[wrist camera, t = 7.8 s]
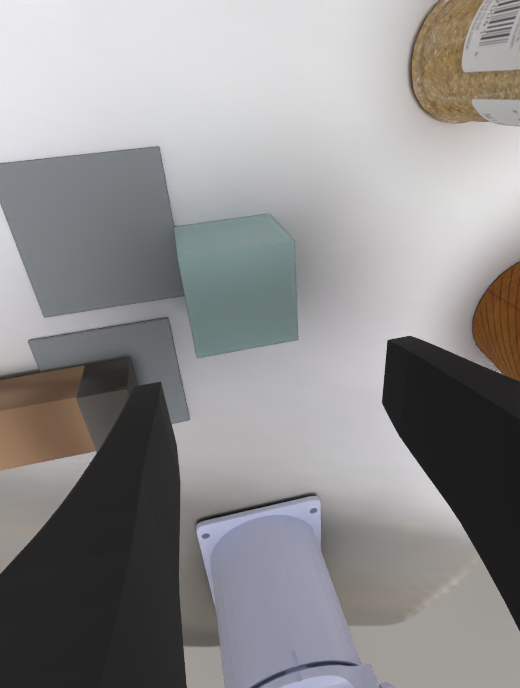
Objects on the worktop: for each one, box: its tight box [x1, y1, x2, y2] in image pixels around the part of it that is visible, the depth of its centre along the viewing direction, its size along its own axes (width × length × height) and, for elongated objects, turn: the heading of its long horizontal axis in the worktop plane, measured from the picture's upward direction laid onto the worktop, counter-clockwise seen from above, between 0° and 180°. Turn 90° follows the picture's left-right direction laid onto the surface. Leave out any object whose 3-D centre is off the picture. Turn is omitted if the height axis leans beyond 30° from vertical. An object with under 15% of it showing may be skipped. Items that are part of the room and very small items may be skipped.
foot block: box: [174, 214, 298, 358], centre depth 17 cm, size 4×4×4 cm
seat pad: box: [0, 146, 185, 318], centre depth 17 cm, size 6×6×1 cm
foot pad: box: [28, 318, 190, 424], centre depth 20 cm, size 6×6×1 cm
